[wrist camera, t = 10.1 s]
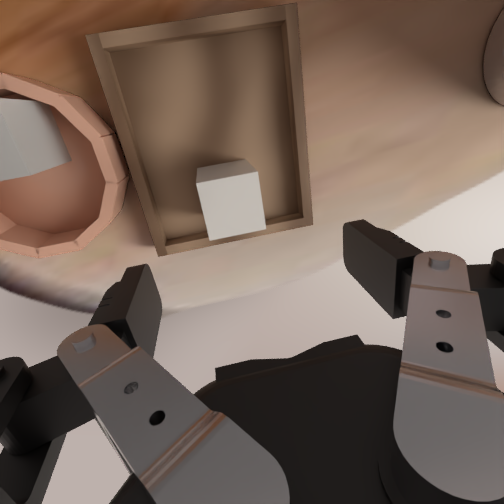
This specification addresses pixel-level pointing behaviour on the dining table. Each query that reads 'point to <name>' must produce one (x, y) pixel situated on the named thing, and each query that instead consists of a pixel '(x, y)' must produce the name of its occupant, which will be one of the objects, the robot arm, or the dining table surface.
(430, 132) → the dining table surface
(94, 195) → the bowl
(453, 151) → the dining table surface
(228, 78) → the tray
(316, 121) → the dining table surface
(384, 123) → the dining table surface
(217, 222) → the white rectangular block
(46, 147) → the light grey block
